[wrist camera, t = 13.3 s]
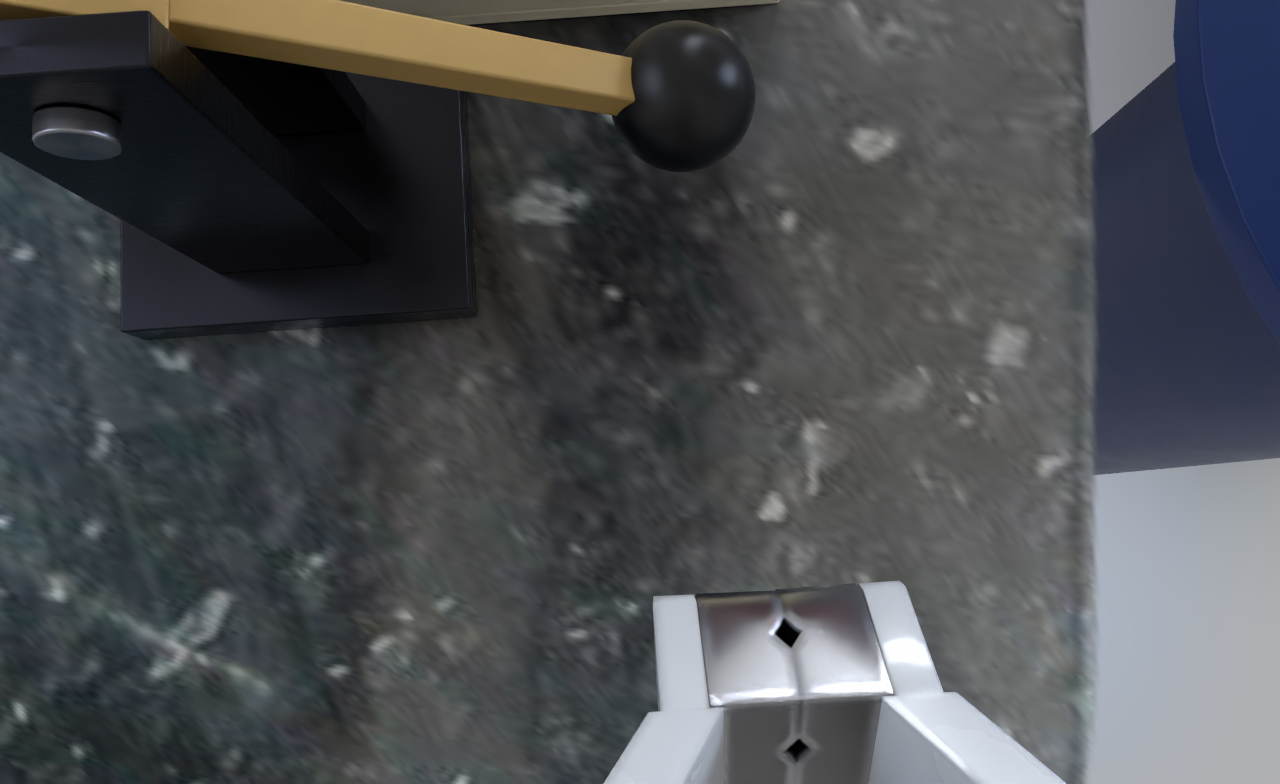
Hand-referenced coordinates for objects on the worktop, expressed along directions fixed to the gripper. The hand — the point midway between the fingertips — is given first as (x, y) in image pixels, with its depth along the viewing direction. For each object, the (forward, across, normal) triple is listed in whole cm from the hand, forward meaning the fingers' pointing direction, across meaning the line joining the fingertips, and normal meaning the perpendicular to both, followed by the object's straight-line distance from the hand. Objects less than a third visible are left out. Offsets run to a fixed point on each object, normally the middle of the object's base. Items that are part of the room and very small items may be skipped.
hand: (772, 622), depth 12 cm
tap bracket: (+20, -11, -3) cm, 23 cm away
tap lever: (+15, -6, +2) cm, 16 cm away
